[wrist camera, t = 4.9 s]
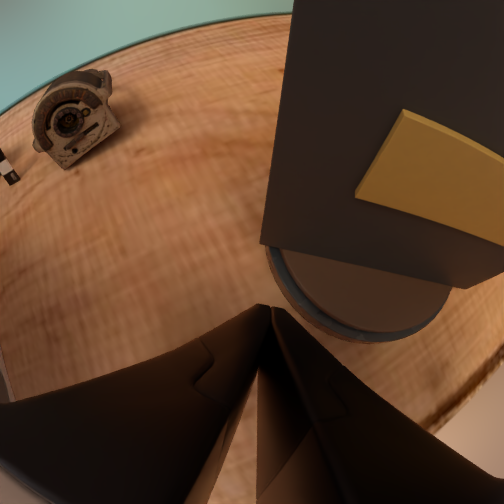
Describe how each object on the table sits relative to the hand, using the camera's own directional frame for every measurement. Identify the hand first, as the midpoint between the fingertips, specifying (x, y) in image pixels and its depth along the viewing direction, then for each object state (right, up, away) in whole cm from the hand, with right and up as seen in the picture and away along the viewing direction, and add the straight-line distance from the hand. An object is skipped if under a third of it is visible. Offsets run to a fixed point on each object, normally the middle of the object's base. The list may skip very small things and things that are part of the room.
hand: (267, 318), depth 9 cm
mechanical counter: (-16, +15, +14) cm, 26 cm away
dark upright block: (+7, +3, +9) cm, 12 cm away
